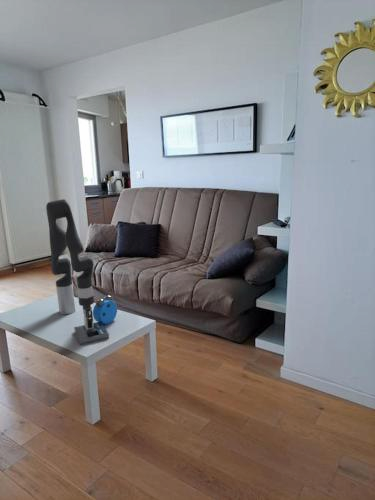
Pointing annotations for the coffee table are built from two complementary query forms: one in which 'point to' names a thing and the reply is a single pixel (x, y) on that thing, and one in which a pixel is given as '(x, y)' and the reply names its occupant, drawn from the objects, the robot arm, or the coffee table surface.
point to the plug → (87, 324)
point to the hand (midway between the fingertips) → (89, 325)
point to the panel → (91, 333)
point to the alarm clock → (105, 310)
